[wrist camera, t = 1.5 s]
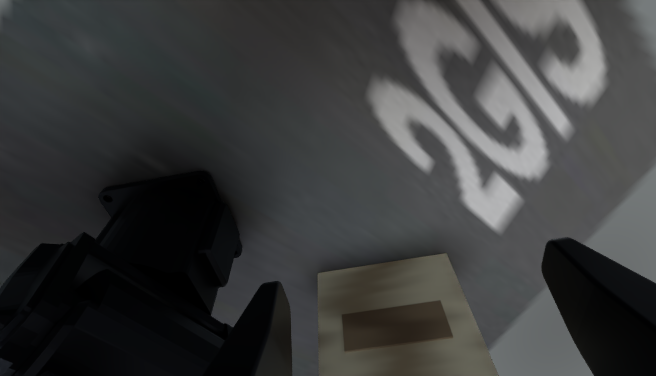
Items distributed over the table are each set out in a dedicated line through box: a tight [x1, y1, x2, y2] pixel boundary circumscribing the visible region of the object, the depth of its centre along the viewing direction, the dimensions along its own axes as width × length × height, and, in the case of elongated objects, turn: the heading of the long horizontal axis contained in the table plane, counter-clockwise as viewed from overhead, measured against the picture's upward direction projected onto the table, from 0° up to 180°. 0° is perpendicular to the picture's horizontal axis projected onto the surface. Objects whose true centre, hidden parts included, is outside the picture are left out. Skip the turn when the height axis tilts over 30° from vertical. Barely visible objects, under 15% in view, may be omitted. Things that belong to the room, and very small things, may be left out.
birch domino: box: [318, 253, 499, 376], centre depth 22 cm, size 9×3×9 cm, turn 100°
